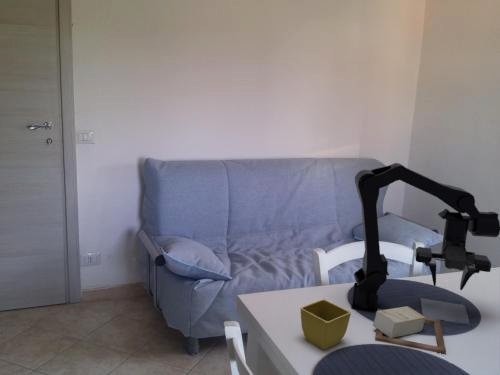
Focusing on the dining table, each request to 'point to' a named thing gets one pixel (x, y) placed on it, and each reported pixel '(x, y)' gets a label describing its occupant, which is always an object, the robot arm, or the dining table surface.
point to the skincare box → (398, 321)
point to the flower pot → (324, 323)
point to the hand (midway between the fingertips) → (447, 287)
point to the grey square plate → (443, 310)
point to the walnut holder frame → (439, 339)
